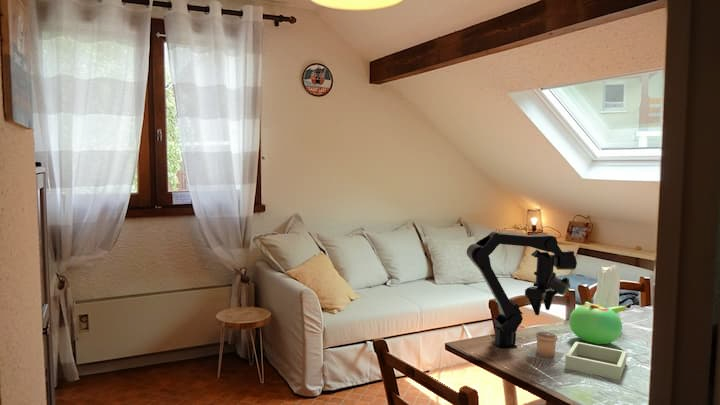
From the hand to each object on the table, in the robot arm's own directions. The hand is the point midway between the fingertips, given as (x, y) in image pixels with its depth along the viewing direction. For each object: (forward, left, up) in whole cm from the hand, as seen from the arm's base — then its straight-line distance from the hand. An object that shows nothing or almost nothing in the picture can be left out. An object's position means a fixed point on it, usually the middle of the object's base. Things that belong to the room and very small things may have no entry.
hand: (542, 312), depth 197 cm
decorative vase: (+42, +15, -12) cm, 46 cm away
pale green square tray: (+5, -22, -12) cm, 26 cm away
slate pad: (-5, -10, -12) cm, 16 cm away
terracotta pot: (-5, -10, -11) cm, 16 cm away
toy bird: (+22, -2, -12) cm, 25 cm away
